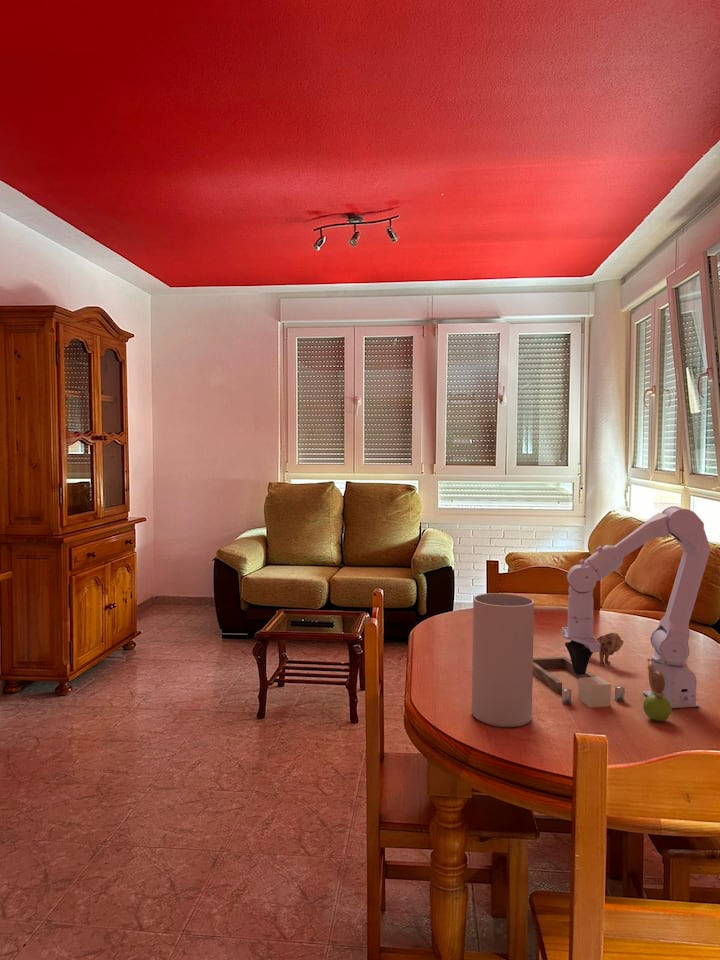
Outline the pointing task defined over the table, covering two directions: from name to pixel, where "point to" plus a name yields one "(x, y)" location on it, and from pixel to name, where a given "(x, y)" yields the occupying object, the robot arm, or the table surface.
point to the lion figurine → (608, 646)
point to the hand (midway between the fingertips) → (579, 673)
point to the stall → (554, 662)
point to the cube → (594, 692)
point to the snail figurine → (656, 697)
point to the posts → (567, 692)
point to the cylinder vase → (502, 659)
